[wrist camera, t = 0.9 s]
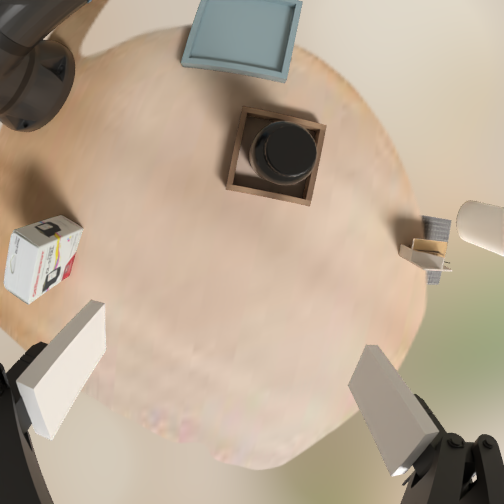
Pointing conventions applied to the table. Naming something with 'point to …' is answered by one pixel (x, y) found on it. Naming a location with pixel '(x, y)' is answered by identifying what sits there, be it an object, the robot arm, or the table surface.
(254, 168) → the supplement bottle
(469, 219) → the cylindrical container
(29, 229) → the ink box
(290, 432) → the table surface
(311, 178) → the frame
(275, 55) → the tray
